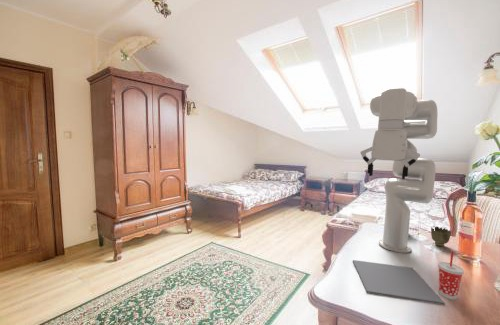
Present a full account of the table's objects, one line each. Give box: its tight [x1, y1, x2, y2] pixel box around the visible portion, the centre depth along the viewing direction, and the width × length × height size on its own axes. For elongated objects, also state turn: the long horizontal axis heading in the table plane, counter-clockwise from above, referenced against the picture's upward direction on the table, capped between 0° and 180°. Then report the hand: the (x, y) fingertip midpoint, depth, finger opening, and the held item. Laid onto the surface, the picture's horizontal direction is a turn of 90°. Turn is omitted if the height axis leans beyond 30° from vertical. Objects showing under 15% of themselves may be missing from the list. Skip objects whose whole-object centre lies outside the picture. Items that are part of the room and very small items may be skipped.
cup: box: [430, 226, 452, 248], centre depth 110 cm, size 8×7×8 cm
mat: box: [352, 259, 445, 306], centre depth 80 cm, size 20×21×1 cm
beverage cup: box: [437, 250, 465, 300], centre depth 72 cm, size 6×6×14 cm
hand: (386, 177), depth 79 cm, fingers open, 9 cm apart
